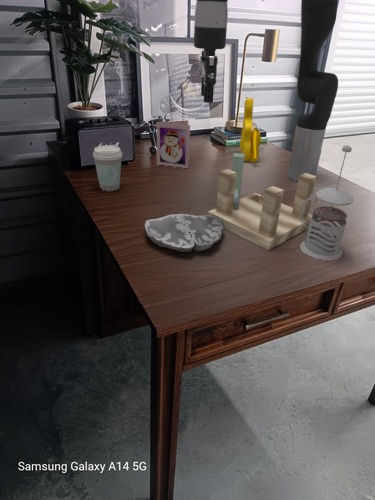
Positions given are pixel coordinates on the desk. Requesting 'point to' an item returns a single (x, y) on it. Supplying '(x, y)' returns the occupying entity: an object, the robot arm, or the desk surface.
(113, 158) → the coffee cup
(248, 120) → the figure statuette
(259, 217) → the stool seat
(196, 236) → the brain slice
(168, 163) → the greeting card
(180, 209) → the desk surface
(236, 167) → the hinged leg
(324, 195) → the french press
